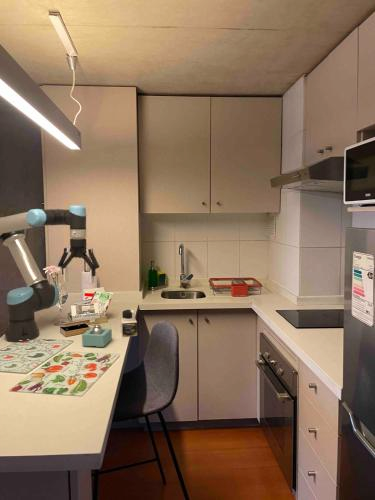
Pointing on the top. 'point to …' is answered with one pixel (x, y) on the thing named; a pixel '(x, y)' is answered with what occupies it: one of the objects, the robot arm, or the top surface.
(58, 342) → the top surface
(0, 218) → the robot arm
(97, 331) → the post
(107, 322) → the top surface
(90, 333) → the collar
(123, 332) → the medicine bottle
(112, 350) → the top surface
